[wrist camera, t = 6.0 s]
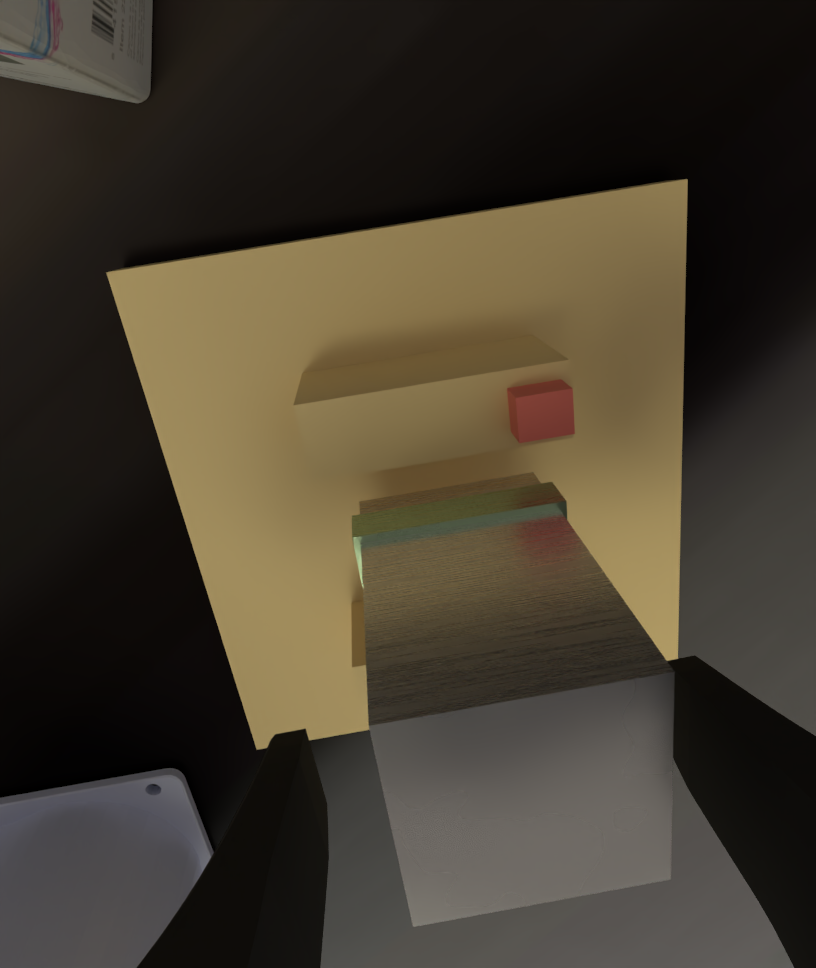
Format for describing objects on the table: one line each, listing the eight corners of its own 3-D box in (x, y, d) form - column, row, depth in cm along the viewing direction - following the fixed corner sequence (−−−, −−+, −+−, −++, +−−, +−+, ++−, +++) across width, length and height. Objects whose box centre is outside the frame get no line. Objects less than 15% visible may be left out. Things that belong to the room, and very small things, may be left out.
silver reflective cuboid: (382, 650, 16) (404, 934, 10) (351, 496, 15) (355, 718, 8) (550, 621, 17) (680, 884, 10) (539, 464, 15) (686, 660, 8)
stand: (261, 722, 22) (239, 855, 18) (122, 268, 17) (36, 291, 12) (661, 652, 23) (740, 764, 18) (665, 181, 17) (785, 170, 12)
